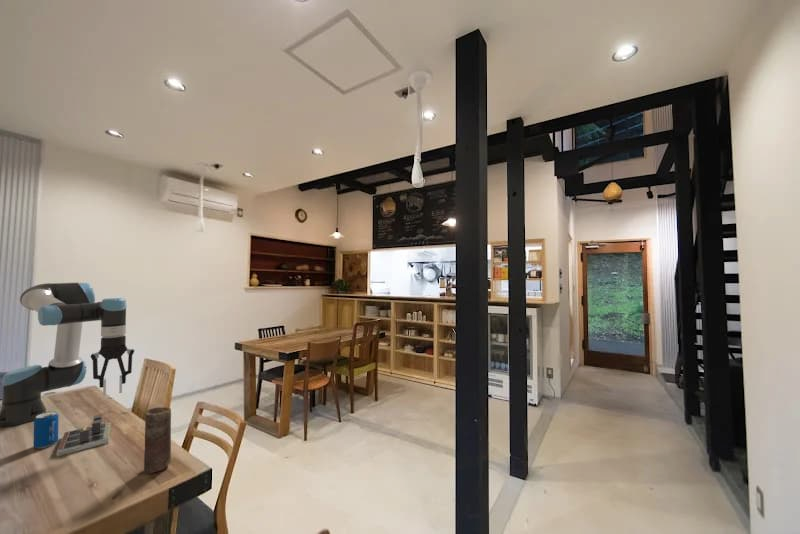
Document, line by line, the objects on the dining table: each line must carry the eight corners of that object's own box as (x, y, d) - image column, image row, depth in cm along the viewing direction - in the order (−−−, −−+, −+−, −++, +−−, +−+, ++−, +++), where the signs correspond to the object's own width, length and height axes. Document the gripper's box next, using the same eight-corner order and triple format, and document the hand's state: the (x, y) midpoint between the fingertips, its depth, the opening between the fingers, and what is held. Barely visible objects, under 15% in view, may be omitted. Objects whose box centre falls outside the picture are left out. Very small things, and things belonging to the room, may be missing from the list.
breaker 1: (94, 425, 135) (94, 415, 135) (101, 423, 136) (102, 414, 136) (93, 428, 132) (93, 418, 132) (101, 426, 134) (101, 417, 134)
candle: (154, 461, 113) (154, 405, 113) (175, 460, 113) (176, 404, 114) (138, 475, 105) (139, 415, 106) (161, 474, 106) (162, 414, 106)
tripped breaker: (80, 438, 124) (80, 428, 124) (89, 436, 125) (89, 426, 125) (79, 442, 121) (79, 431, 121) (88, 440, 123) (88, 429, 123)
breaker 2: (92, 430, 130) (93, 420, 130) (100, 428, 132) (101, 419, 132) (92, 434, 128) (92, 424, 128) (100, 432, 129) (100, 422, 129)
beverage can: (41, 450, 120) (41, 418, 121) (28, 448, 122) (29, 417, 122) (62, 441, 127) (63, 411, 127) (50, 440, 128) (50, 410, 128)
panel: (64, 437, 130) (64, 432, 130) (110, 426, 139) (110, 421, 139) (56, 456, 116) (56, 450, 116) (108, 443, 125) (108, 437, 125)
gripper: (82, 340, 121) (81, 401, 120) (140, 334, 132) (140, 390, 131) (85, 337, 126) (84, 396, 126) (140, 332, 138) (139, 386, 137)
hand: (112, 393), depth 129 cm, fingers open, 4 cm apart
